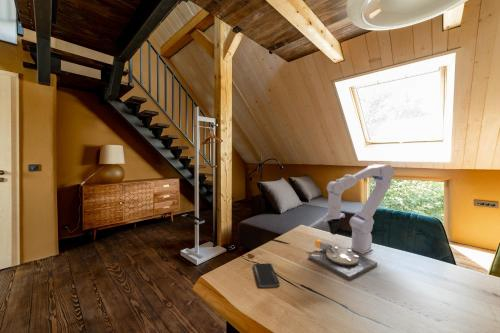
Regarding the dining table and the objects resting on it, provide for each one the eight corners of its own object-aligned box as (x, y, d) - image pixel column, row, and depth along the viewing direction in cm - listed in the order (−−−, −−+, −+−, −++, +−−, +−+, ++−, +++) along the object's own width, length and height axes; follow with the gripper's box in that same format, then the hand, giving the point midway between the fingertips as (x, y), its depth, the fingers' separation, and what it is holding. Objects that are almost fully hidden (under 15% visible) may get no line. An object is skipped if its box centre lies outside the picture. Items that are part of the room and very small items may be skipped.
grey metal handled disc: (324, 243, 109) (325, 236, 109) (364, 260, 92) (365, 252, 92) (307, 249, 102) (307, 242, 102) (346, 268, 85) (347, 260, 85)
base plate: (335, 248, 108) (336, 244, 108) (377, 265, 91) (377, 262, 91) (308, 258, 97) (308, 254, 97) (349, 280, 80) (349, 276, 80)
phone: (258, 286, 75) (253, 264, 90) (258, 289, 75) (252, 266, 90) (280, 284, 76) (271, 263, 91) (280, 287, 76) (271, 265, 91)
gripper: (336, 203, 111) (335, 228, 112) (317, 206, 103) (316, 234, 104) (349, 205, 105) (347, 233, 106) (330, 209, 97) (329, 239, 98)
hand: (333, 233), depth 104 cm, fingers closed
